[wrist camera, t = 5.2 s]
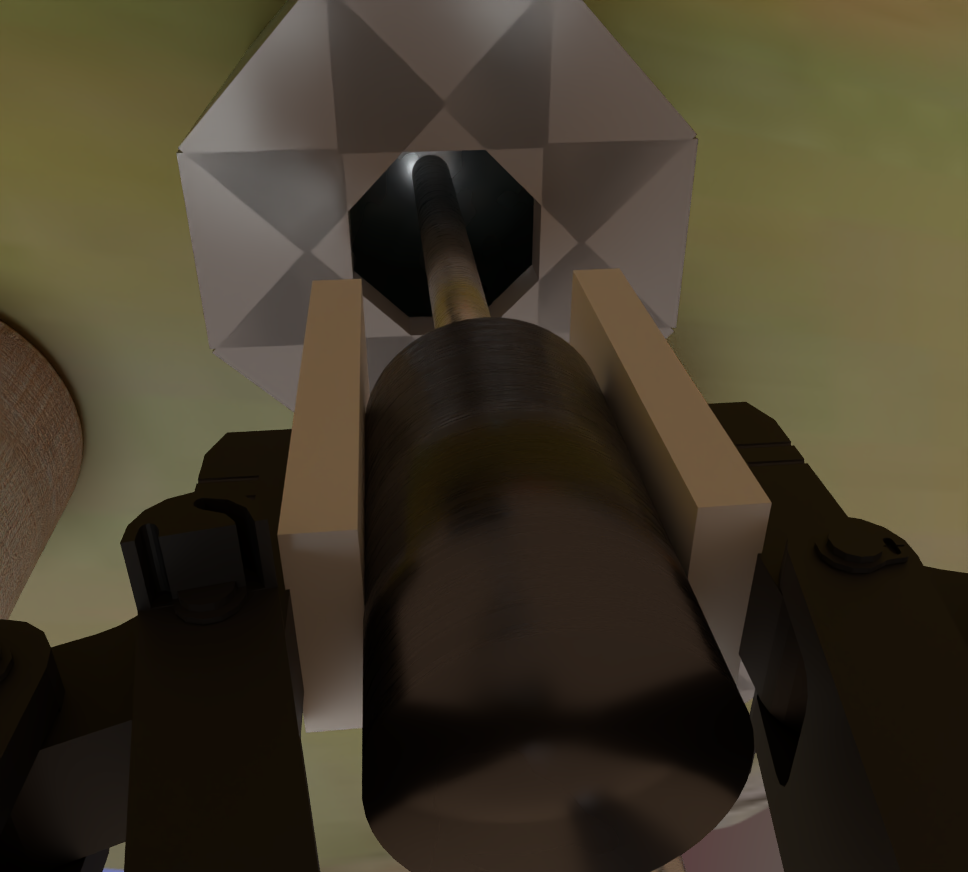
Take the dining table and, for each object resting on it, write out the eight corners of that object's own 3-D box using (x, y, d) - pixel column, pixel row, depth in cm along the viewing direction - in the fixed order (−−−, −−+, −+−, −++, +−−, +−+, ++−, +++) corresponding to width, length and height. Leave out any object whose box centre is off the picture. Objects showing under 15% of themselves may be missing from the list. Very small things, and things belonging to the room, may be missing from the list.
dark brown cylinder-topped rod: (259, 6, 22) (-72, 397, 5) (583, 2, 23) (1170, 335, 6) (294, 312, 26) (166, 1069, 10) (569, 300, 27) (896, 984, 10)
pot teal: (218, -162, 25) (118, -190, 15) (592, -160, 26) (735, -185, 16) (274, 279, 32) (230, 468, 22) (570, 267, 33) (662, 443, 23)
